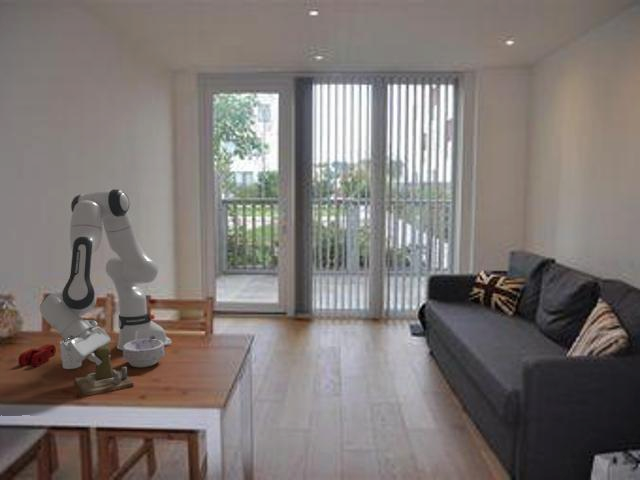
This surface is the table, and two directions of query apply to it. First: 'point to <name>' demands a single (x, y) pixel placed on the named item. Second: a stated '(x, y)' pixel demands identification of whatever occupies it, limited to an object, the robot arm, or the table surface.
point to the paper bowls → (143, 352)
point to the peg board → (104, 382)
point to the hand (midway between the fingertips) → (104, 360)
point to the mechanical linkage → (37, 356)
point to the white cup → (68, 359)
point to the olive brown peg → (103, 364)
